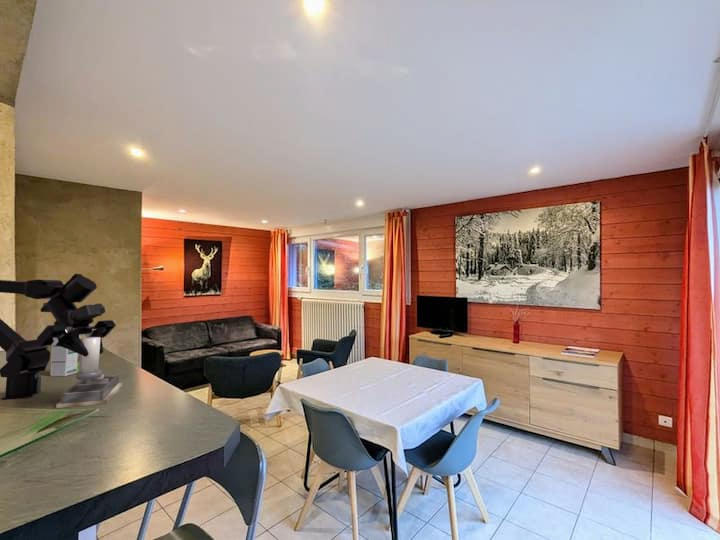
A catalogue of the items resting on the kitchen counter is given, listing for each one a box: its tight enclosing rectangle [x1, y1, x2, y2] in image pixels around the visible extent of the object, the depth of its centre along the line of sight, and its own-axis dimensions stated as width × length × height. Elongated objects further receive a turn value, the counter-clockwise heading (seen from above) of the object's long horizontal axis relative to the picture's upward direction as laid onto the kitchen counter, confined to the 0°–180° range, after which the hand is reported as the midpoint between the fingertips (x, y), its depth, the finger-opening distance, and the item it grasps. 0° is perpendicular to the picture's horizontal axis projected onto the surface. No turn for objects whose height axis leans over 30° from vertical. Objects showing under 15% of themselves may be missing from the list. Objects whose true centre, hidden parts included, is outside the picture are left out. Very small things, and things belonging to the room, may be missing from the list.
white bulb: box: [75, 337, 103, 381], centre depth 98 cm, size 6×6×11 cm
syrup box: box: [50, 335, 81, 377], centre depth 125 cm, size 6×6×14 cm
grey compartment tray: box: [55, 373, 123, 409], centre depth 102 cm, size 11×18×5 cm, turn 24°
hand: (94, 354), depth 98 cm, fingers closed on white bulb, 4 cm apart
